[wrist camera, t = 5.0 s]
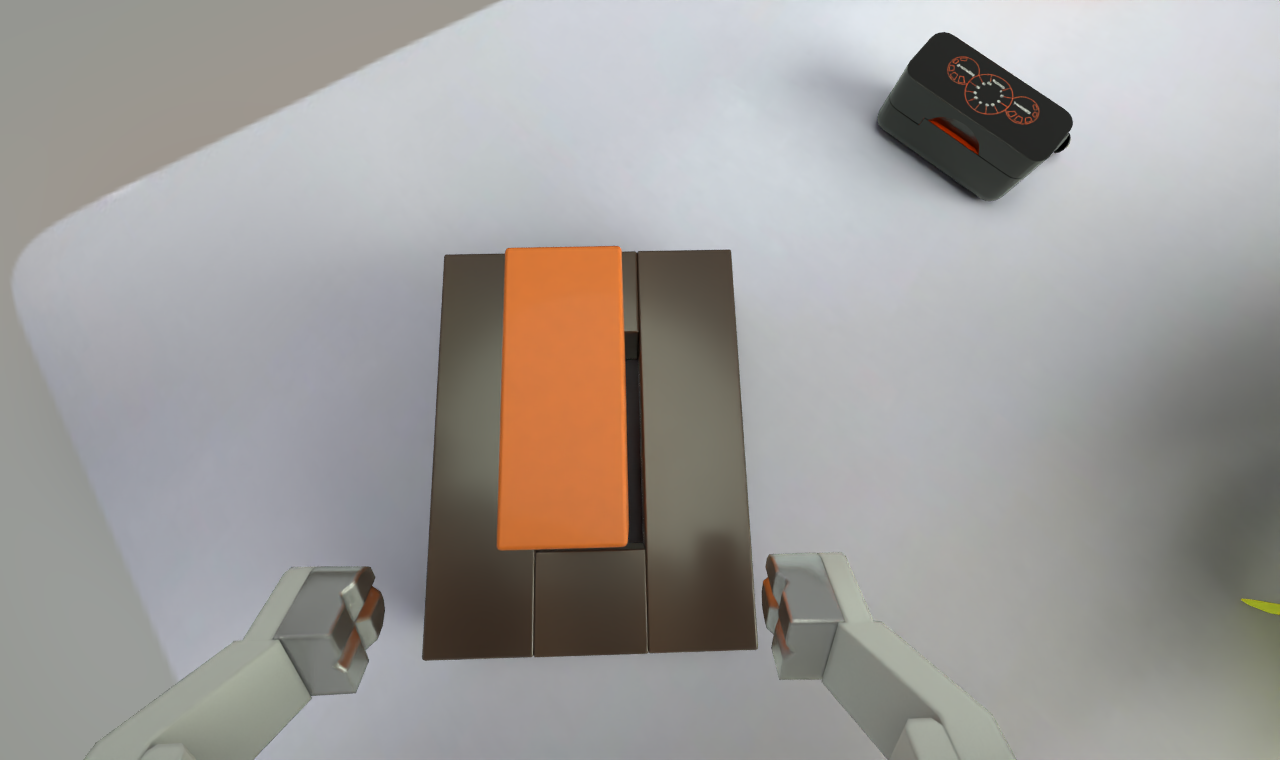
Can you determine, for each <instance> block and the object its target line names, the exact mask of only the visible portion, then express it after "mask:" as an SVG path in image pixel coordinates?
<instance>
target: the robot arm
mask: <svg viewBox="0 0 1280 760" xmlns="http://www.w3.org/2000/svg"><path fill="white" fill-rule="evenodd" d="M766 570H767V574H768V577H767V578H766V579H765V580H764V581H763V587H762V608H763V614H764V619H765V624H766V628H767V629H768V630H769V631H770V632H771V633H772V634H773V635H774V636H773V642H772V648H771V649H772V653H773V657H774V661H775V665H776V669H777V673H778V676H779V680H819V679H822V683H823V684H824V685H825V686H826V687H827V689H828V690H829V691H830V692H831V693H832V695H833V696H834V697H835V698H836V699H837V700H838V702H839V703H840V704H841V705H842V706H843V707H844V709H845V710H846V711H847V712H848V713H849V715H850V716H851V717H852V718H853V719H854V720H855V722H856V723H857V724H858V725H859V726H860V727H861V729H862V730H863V731H864V732H865V733H866V735H867V736H868V737H869V738H870V739H871V740H872V742H873V743H874V744H875V745H876V746H877V748H878V749H879V750H880V751H881V752H882V753H883V755H884V756H885V757H886V758H887V759H888V760H1016V758H1015V756H1014V754H1013V752H1012V750H1011V749H1010V747H1009V745H1008V743H1007V741H1006V739H1005V737H1004V736H1003V734H1002V732H1001V730H1000V728H999V726H998V724H997V723H996V721H995V719H994V717H993V715H992V714H991V713H990V712H989V711H988V710H986V709H985V708H984V707H983V706H982V705H980V704H979V703H978V702H977V701H976V700H974V699H973V698H972V697H971V696H970V695H968V694H967V693H966V692H965V691H964V690H962V689H961V688H960V687H959V686H958V685H957V684H955V683H954V682H953V681H952V680H951V679H949V678H948V677H947V676H946V675H945V674H943V673H942V672H941V671H940V670H939V669H937V668H936V667H935V666H934V665H933V664H931V663H930V662H929V661H928V660H927V659H925V658H924V657H923V656H922V655H921V654H919V653H918V652H917V651H916V650H915V649H914V648H912V647H911V646H910V645H909V644H908V643H906V642H905V641H904V640H903V639H902V638H900V637H899V636H898V635H897V634H896V633H894V632H893V631H892V630H891V629H890V628H888V627H887V626H886V625H885V624H884V623H882V622H879V621H873V618H872V616H871V614H870V611H869V609H868V607H867V604H866V602H865V600H864V598H863V595H862V593H861V591H860V588H859V586H858V584H857V581H856V579H855V577H854V574H853V572H852V570H851V567H850V565H849V563H848V561H847V558H846V556H845V555H844V554H843V553H842V552H835V553H793V554H769V556H768V558H767V561H766ZM374 580H375V576H374V573H373V571H372V569H371V567H366V566H320V567H291V568H290V569H289V570H288V571H286V572H285V573H284V574H283V576H282V577H281V579H280V581H279V582H278V584H277V585H276V587H275V589H274V590H273V592H272V593H271V595H270V597H269V598H268V600H267V601H266V603H265V605H264V606H263V608H262V609H261V611H260V613H259V614H258V616H257V618H256V619H255V621H254V622H253V624H252V626H251V627H250V629H249V630H248V632H247V634H246V635H245V637H244V638H243V640H240V641H234V642H232V643H231V644H230V645H228V646H227V647H225V648H224V649H223V650H221V651H220V652H219V653H217V654H216V655H215V656H213V657H212V658H211V659H209V660H208V661H206V662H205V663H204V664H202V665H201V666H200V667H198V668H197V669H196V670H194V671H193V672H192V673H190V674H189V675H187V676H186V677H185V678H183V679H182V680H181V681H179V682H178V683H177V684H175V685H174V686H173V687H171V688H170V689H168V690H167V691H166V692H164V693H163V694H162V695H160V696H159V697H158V698H156V699H155V700H154V701H152V702H151V703H149V704H148V705H147V706H145V707H144V708H143V709H141V710H140V711H139V712H137V713H136V714H135V715H133V716H132V717H130V718H129V719H128V720H126V721H125V722H124V723H122V724H121V725H120V726H118V727H117V728H116V729H114V730H113V731H112V732H110V733H109V734H107V735H106V736H105V737H103V738H102V739H101V740H99V741H98V742H96V743H95V745H94V746H93V748H92V749H91V750H90V751H89V753H88V754H87V755H86V757H85V758H84V760H253V759H254V758H255V757H256V756H257V755H258V754H259V753H260V752H261V751H262V750H263V749H264V748H265V747H266V746H267V745H268V744H269V743H270V742H271V741H272V740H273V739H274V737H275V736H276V735H277V734H278V733H279V732H280V731H281V730H282V729H283V728H284V727H285V726H286V725H287V724H288V723H289V722H290V721H291V720H292V719H293V718H294V717H295V716H296V714H297V713H298V712H299V711H300V710H301V709H302V708H303V707H304V706H305V705H306V704H307V703H308V702H309V701H310V700H311V699H312V697H311V696H317V695H334V694H351V693H356V692H357V689H358V687H359V684H360V682H361V679H362V677H363V674H364V672H365V669H366V667H367V664H368V662H369V659H368V656H367V653H366V651H365V650H366V649H367V648H368V647H370V646H371V645H372V644H373V643H374V642H375V641H376V640H377V639H378V637H379V634H380V631H381V629H382V626H383V620H384V613H385V607H384V599H383V596H382V594H381V592H380V591H379V590H377V589H376V588H374V587H373V586H372V584H373V582H374Z"/></svg>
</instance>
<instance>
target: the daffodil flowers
mask: <svg viewBox="0 0 1280 760" xmlns="http://www.w3.org/2000/svg"><path fill="white" fill-rule="evenodd" d="M1241 600H1242V601H1243V602H1245V603H1246V604H1248V605H1250V606H1252V607H1255V608H1257V609H1260V610H1262V611H1265V612H1268V613H1272V614H1277V615H1280V604H1275V603H1270V602H1264V601H1258V600H1251V599H1241Z"/></svg>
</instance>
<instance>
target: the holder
mask: <svg viewBox="0 0 1280 760" xmlns="http://www.w3.org/2000/svg"><path fill="white" fill-rule="evenodd" d="M504 273H505V254H458V255H445V256H444V272H443V290H442V308H441V326H440V344H439V362H438V380H437V399H436V417H435V435H434V453H433V471H432V489H431V507H430V525H429V544H428V562H427V580H426V598H425V616H424V634H423V652H422V659H423V660H425V661H429V660H460V659H490V658H520V657H532V656H534V657H559V656H589V655H620V654H647V653H648V651H649V653H674V652H704V651H734V650H756V649H758V638H757V624H756V609H755V594H754V580H753V565H752V551H751V536H750V521H749V507H748V492H747V477H746V463H745V448H744V433H743V419H742V404H741V389H740V375H739V360H738V346H737V331H736V316H735V302H734V287H733V272H732V258H731V250H682V251H638V253H636V252H635V251H634V252H622V280H623V309H624V338H625V359H637V358H638V375H639V413H640V450H641V487H642V524H643V543H627V545H626V546H624V547H609V548H574V549H540V550H505V551H501V550H499V549H498V548H497V514H498V480H499V445H500V411H501V377H502V342H503V308H504Z"/></svg>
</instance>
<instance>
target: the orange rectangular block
mask: <svg viewBox="0 0 1280 760" xmlns="http://www.w3.org/2000/svg"><path fill="white" fill-rule="evenodd" d="M628 533H629V501H628V455H627V409H626V367H625V338H624V309H623V280H622V251H621V248H620V247H618V246H594V247H536V248H507V249H506V251H505V273H504V308H503V342H502V377H501V411H500V445H499V480H498V514H497V548H498V549H499V550H501V551H505V550H540V549H574V548H609V547H624V546H626V545H627V542H628Z"/></svg>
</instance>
